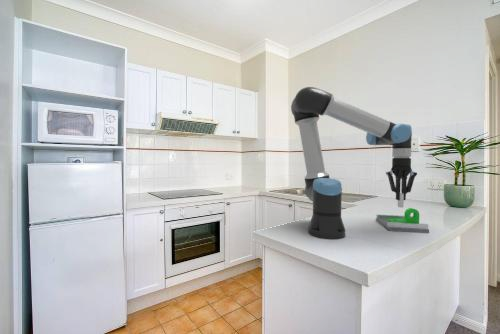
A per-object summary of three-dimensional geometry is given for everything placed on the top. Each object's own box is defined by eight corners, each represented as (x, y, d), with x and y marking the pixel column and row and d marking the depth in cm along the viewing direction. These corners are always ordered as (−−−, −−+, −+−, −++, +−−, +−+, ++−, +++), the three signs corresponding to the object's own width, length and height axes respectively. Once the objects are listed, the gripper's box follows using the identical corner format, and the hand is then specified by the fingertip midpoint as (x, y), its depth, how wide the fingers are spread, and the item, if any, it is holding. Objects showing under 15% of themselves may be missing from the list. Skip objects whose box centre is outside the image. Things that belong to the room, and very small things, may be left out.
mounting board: (388, 230, 106) (388, 227, 106) (375, 220, 123) (375, 217, 123) (429, 233, 103) (429, 229, 103) (409, 222, 120) (409, 219, 120)
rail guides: (388, 227, 107) (388, 222, 106) (376, 218, 123) (376, 214, 123) (428, 229, 103) (428, 224, 103) (410, 219, 119) (410, 216, 119)
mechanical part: (410, 222, 114) (410, 206, 114) (419, 226, 108) (419, 208, 108) (385, 222, 114) (385, 206, 114) (392, 226, 108) (393, 208, 108)
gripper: (389, 157, 110) (388, 207, 110) (420, 157, 107) (419, 209, 108) (383, 157, 117) (382, 204, 118) (413, 157, 114) (411, 205, 115)
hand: (400, 206), depth 113 cm, fingers closed
